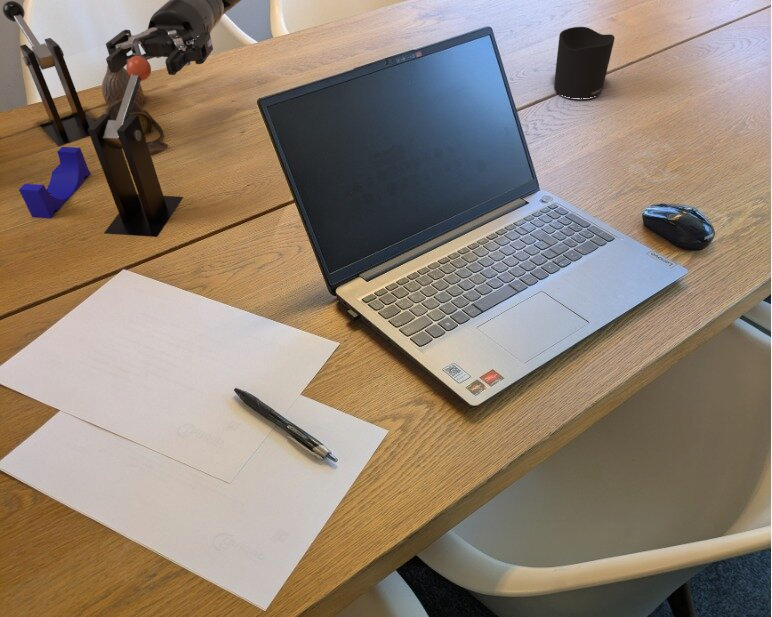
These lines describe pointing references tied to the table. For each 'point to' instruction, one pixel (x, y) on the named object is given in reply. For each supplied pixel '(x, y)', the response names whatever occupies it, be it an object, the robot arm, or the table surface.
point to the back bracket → (57, 128)
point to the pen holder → (582, 62)
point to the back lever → (29, 34)
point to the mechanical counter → (145, 122)
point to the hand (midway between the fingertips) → (140, 67)
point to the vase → (118, 87)
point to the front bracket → (135, 210)
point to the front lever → (127, 99)
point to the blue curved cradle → (57, 184)
